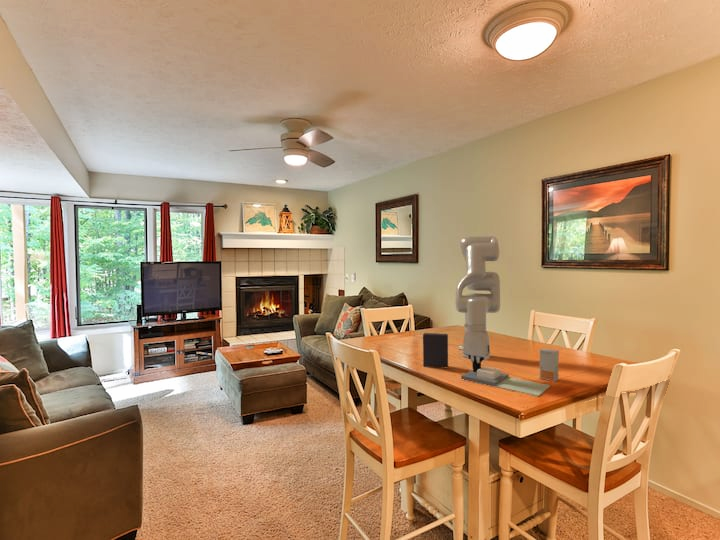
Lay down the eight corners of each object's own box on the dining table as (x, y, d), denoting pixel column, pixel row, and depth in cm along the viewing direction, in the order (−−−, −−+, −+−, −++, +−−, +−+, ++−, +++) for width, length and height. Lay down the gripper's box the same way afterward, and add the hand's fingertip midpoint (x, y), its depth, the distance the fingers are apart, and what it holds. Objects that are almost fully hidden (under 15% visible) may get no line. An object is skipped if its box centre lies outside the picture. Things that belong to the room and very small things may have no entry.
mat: (494, 386, 148) (494, 385, 148) (508, 378, 159) (508, 377, 159) (538, 396, 138) (538, 395, 138) (550, 386, 148) (550, 385, 148)
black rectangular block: (448, 365, 178) (447, 333, 177) (447, 368, 174) (447, 335, 173) (424, 364, 181) (423, 332, 180) (423, 366, 177) (422, 334, 176)
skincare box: (539, 378, 157) (539, 349, 157) (543, 376, 160) (543, 347, 160) (555, 382, 153) (555, 352, 153) (558, 379, 156) (559, 350, 156)
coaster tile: (476, 376, 157) (476, 370, 156) (484, 372, 162) (484, 366, 162) (493, 379, 152) (493, 373, 152) (500, 375, 157) (500, 369, 157)
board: (461, 379, 158) (461, 375, 158) (476, 371, 168) (476, 368, 168) (494, 386, 148) (494, 382, 148) (508, 378, 159) (508, 374, 159)
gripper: (455, 326, 162) (456, 370, 163) (490, 331, 152) (490, 377, 153) (464, 324, 168) (464, 366, 168) (497, 328, 157) (498, 372, 158)
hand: (476, 371), depth 160 cm, fingers closed
